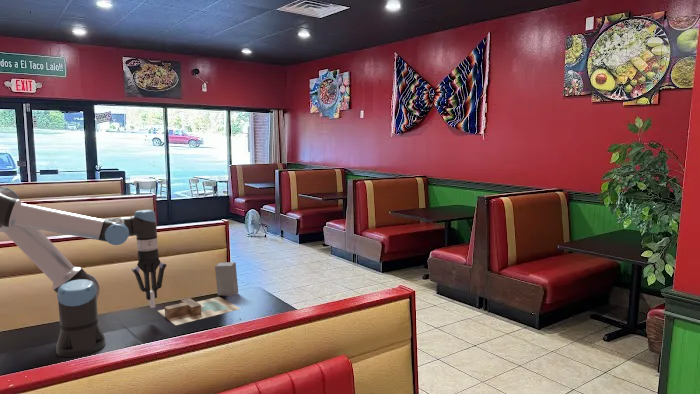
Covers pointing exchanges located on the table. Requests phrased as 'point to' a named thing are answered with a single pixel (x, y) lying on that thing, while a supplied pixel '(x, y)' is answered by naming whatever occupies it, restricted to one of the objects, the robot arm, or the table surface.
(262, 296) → the table surface
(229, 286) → the skincare box
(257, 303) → the table surface
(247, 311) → the table surface
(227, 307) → the board
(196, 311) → the t block
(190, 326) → the table surface
